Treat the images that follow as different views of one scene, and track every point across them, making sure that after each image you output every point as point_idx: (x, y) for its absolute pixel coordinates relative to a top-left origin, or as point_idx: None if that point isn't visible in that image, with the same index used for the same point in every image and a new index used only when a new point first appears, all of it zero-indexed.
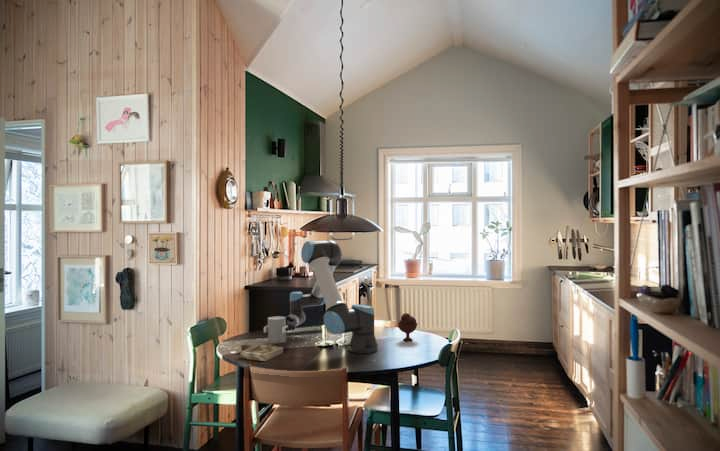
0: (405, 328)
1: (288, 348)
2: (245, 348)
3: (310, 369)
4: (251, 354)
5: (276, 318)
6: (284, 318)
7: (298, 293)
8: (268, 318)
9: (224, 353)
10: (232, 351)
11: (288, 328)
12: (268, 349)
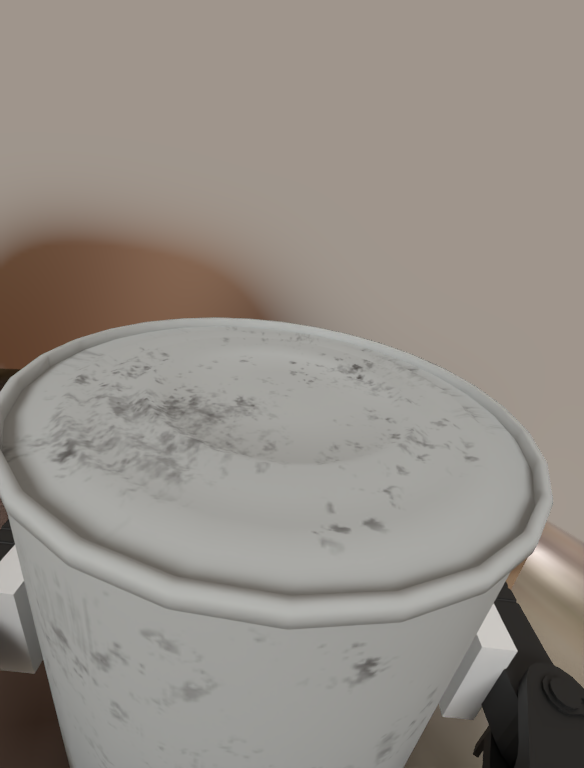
0: None
1: (62, 764)
2: None
3: (15, 369)
4: None
5: (281, 385)
6: (68, 345)
7: None
8: (461, 395)
9: (548, 524)
10: (558, 568)
11: (6, 534)
12: None
